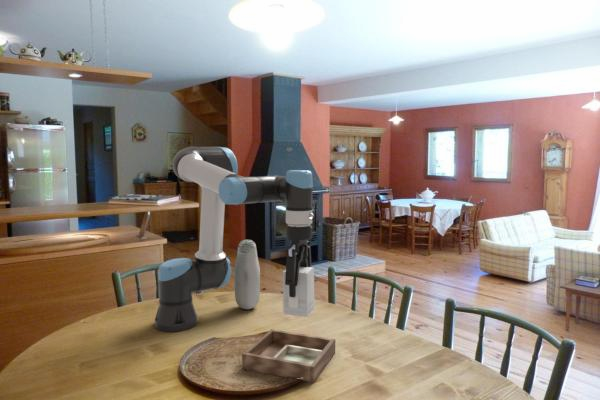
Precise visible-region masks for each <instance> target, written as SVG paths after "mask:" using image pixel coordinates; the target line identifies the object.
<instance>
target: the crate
mask: <svg viewBox="0 0 600 400" xmlns="http://www.w3.org/2000/svg"><path fill="white" fill-rule="evenodd" d="M335 354H336V338H329V337H323V336H318V335H310V334H304V333H297V332H292V331H291V332H290V331H285V330H279V329H269V330H268V331H267V332H266V333H265V334H264V335H263V336H261V337H260V338H259V339H258V340H257V341H256V342H254V343H253V344H252V345H251V346H250V347H248V349H246V350H245V351H244V352H242V355H241V362H242V365H241V367H242V368H241V369H242V370H248V371H252V372H257V373H262V374H267V375H273V376H278V377H283V378H287V377H289V379H292V378H301V377H303V378H304V380H303V382H309V383H313V384H314V383H315V382H316V381H317V380H318V378H319V377H320V375H321V374H322V373H323V371H325V368H326V367H327V365H328V364H329V362H331V360H332V359H333V357H334V356H335Z"/></svg>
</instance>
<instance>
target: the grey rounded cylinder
mask: <svg viewBox="0 0 600 400" xmlns="http://www.w3.org/2000/svg"><path fill="white" fill-rule="evenodd" d="M236 253H237V254H236V258H235V259H236V260H235V265H234V272H233V273H234V274H233V276H234V277H233V279H234V298H235V299H234V300H235V302H236V305H237V306H238V307H239V308H241V309H243V310H251V309H254V308H255V307H256V306H257V305H258V303H259V301H260V297H261V295H260V294H261V268H260V263H259V262H260V261H259V257H258V250H257V245H256V243H255V241H253V240H252V239H243V240H241V241H240V242H239V243H238V245H237V251H236Z"/></svg>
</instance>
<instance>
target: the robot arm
mask: <svg viewBox="0 0 600 400" xmlns="http://www.w3.org/2000/svg"><path fill="white" fill-rule="evenodd" d="M171 166H172V170H173V173H174V174H175V176H177V178H179V179H181V180H183V181H184V182H187V183H195V184H198V185H199V186H200V187H201V197H200V198H201V202H200V221H199V222H200V225H199V227H200V228H199V243H198V244H199V246H198V251H196V252H195V253H194V260H192V259H191V258H189V257H180V258H172V259H168V260H166V261H164V262H162V263H161V264H160V265H159V266H158V275H157V279H158V302H159V303H158V304H159V305H158V308H157V311H156V315H155V318H154V328H155V329H157V330H159V331H163V332H171V333H172V332H181V331H186V330H190V329H192V328H194V327H195V326H196V325H197V324H198V321H199V320H198V319H199V318H198V314H197V311H196V309H195V305H194V303H193V294H195V293H199V292H200V293H201V292H205V291H210V290H216V289H218V288H219V289H220V288H222V287H225V286H226V285H227V284H229V282H230V280H231V277H232V272H233V271H232V270H233V269H232V266H231V261H230V259H229V257H227V254H226V253H225V252H224V251H223V247H224V246H223V245H224V243H223V242H224V227H225V226H224V225H225V207H226V206H225V205H233V206H238V205H247V204H257V203H259V204H260V203H269V202H271V203H273V202H281V203H285V223H286V226H285V237H286V239H288V240H290V248H286V249H285V257H286V258H285V259H286V260H285V270H286V276H285V285H289V307H290V308H297V309H298V308H299V285H297V282H298V275H299V268H300V267H312V250H311V249H312V248H311V247H312V241H309V240H311V239H312V238H313V226H312V224H313V218H314V216H315V214H314V213H313V201H314V200H313V196H314V195H313V191H314V190H313V189H314V183H313V182H314V180H313V173H312V171H311V170H308V169H307V170H306V169H305V170H304V169H303V170H302V169H292V170H291V169H289V170H286V172H285V175H284V176H283V175H271V174H270V175H266V176H265V175H263V176H242V175H239V174H238V167H239V165H238V160H237V157H236V156H235V154H234V152H233V150H231V149H230V148H228V147H224V146H223V147H222V146H189V147H188V146H187V147H184V148H182V149H181V150H179V151H178V152H177V153H176V154H175V155H174V157H173V159H172V165H171Z"/></svg>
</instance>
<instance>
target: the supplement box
mask: <svg viewBox="0 0 600 400" xmlns="http://www.w3.org/2000/svg"><path fill="white" fill-rule="evenodd" d="M285 276H286V269H285V270H283V271H282V286H283V287H282V294H283V295H282V298H283V299H282V301H283V303H282V305H283V315H287V316H288V315H289V316H297V317H303V318H306V317H309V316H310V314H311V313H312V312H313V311H314V310H315V267H314V266H313V267H312V266H311V267H300V268H299V275H298V282H297V285H299V308H298V309H297V308H290V307H289V285H285Z"/></svg>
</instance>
